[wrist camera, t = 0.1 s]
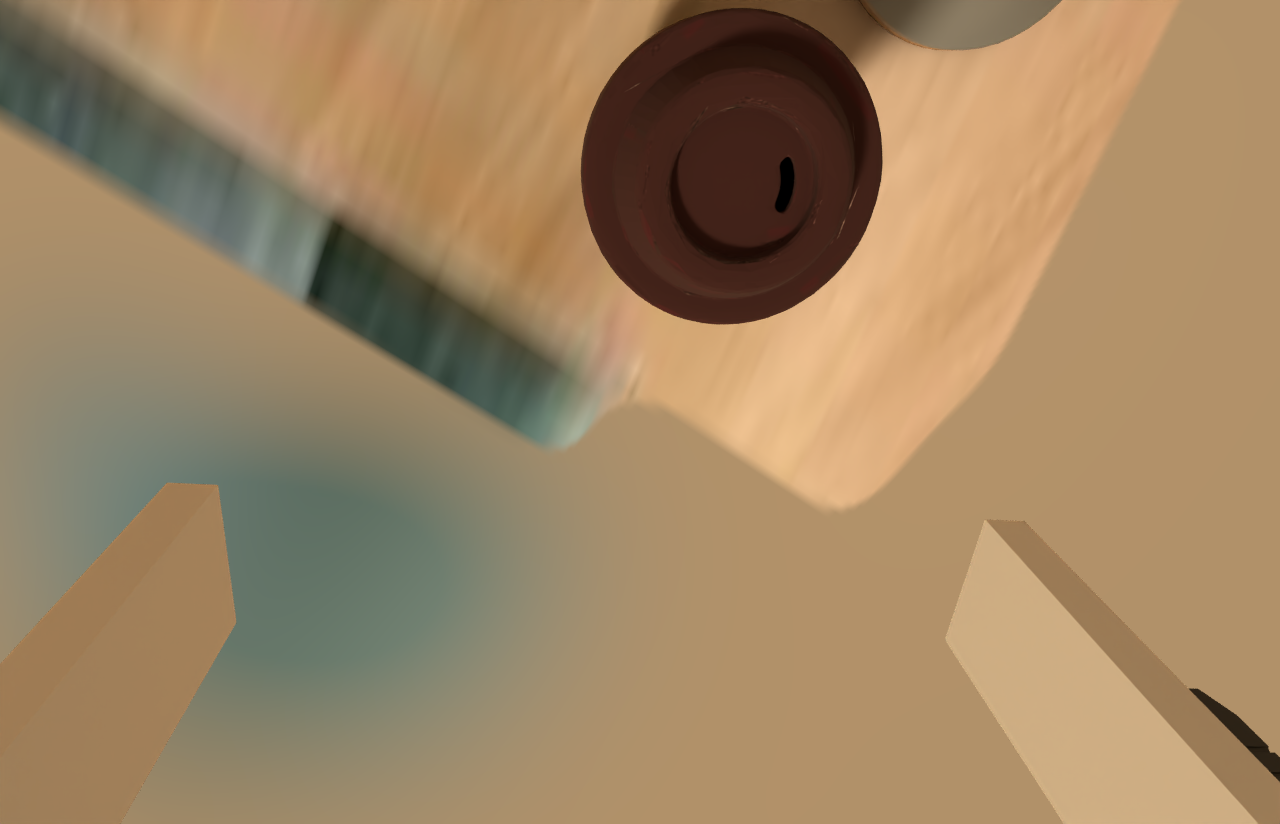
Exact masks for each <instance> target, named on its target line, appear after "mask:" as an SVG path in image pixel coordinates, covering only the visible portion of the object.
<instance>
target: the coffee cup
mask: <svg viewBox="0 0 1280 824" xmlns="http://www.w3.org/2000/svg"><path fill="white" fill-rule="evenodd" d="M881 175H882V142H881V132H880V127H879V122H878V117H877V114H876V110H875V107H874V104H873V101H872V99H871V96H870V93H869V91H868V89H867V87H866V85H865V82H864V81H863V79H862V78H861V76H860V75H859V73H858V71H857V70H856V68H855V67H854V66H853V64H852V63H851V62H850V60H849V59H848V58H847V57H846V55H845V54H844V53H843V52H842V51H841V50H840V49H839V48H838V47H837V46H836V45H835V44H834V43H833V42H832V41H830V40H829V39H828V38H827V37H825V36H824V35H823V34H822V33H820V32H819V31H817V30H815V29H814V28H812V27H811V26H809V25H807V24H805V23H803V22H801V21H799V20H796V19H794V18H792V17H789V16H786V15H783V14H780V13H777V12H772V11H767V10H762V9H749V8H731V9H723V10H716V11H711V12H706V13H703V14H699V15H696V16H693V17H690V18H687V19H684V20H681V21H679V22H677V23H675V24H673V25H671V26H669V27H667V28H665V29H663V30H661V31H659V32H658V33H656V34H655V35H653V36H652V37H651V38H649V39H648V40H646V41H645V42H643V43H642V44H641V45H640V46H639V47H637V48H636V49H635V50H634V51H633V52H632V53H631V54H630V55H629V56H628V57H627V58H626V59H625V60H624V61H623V62H622V63H621V65H620V66H619V67H618V68H617V70H616V71H615V72H614V74H613V75H612V76H611V78H610V79H609V81H608V82H607V84H606V86H605V87H604V89H603V90H602V92H601V94H600V96H599V98H598V100H597V102H596V105H595V107H594V109H593V111H592V114H591V117H590V120H589V122H588V126H587V130H586V134H585V137H584V143H583V150H582V158H581V183H582V193H583V199H584V206H585V210H586V213H587V217H588V220H589V224H590V227H591V231H592V233H593V235H594V237H595V240H596V242H597V244H598V246H599V248H600V250H601V253H602V254H603V256H604V257H605V259H606V260H607V262H608V263H609V265H610V267H611V268H612V269H613V271H614V272H615V273H616V274H617V276H618V277H619V278H620V279H621V280H622V281H623V282H624V283H625V284H626V285H627V286H628V287H629V288H630V289H632V290H633V291H634V292H635V293H636V294H637V295H638V296H640V297H641V298H643V299H644V300H645V301H647V302H648V303H650V304H651V305H653V306H655V307H657V308H659V309H661V310H662V311H664V312H667V313H669V314H672V315H674V316H677V317H680V318H683V319H686V320H691V321H696V322H701V323H708V324H739V323H746V322H752V321H757V320H761V319H765V318H768V317H770V316H773V315H776V314H778V313H781V312H783V311H786V310H788V309H790V308H792V307H794V306H795V305H797V304H798V303H800V302H802V301H803V300H805V299H806V298H808V297H809V296H811V295H812V294H814V293H815V292H816V291H817V290H819V289H820V288H821V287H822V286H823V285H825V284H826V283H827V282H828V281H829V280H830V279H831V278H832V277H833V276H834V275H835V274H836V273H837V272H838V271H839V270H840V269H841V268H842V266H843V265H844V264H845V263H846V261H847V260H848V259H849V258H850V256H851V255H852V253H853V252H854V250H855V249H856V247H857V246H858V244H859V242H860V240H861V238H862V237H863V235H864V233H865V231H866V228H867V226H868V223H869V221H870V218H871V216H872V213H873V210H874V207H875V204H876V201H877V196H878V192H879V187H880V182H881Z"/></svg>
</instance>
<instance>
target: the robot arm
mask: <svg viewBox="0 0 1280 824" xmlns="http://www.w3.org/2000/svg"><path fill="white" fill-rule="evenodd" d="M234 609H235V608H234V601H233V594H232V587H231V579H230V571H229V564H228V557H227V549H226V541H225V534H224V527H223V519H222V512H221V504H220V496H219V489H218V485H206V484H183V483H182V484H181V483H166V485H165V486H164V487H163V488H162V489H161V490H160V491H159V492H158V493H157V494H156V495H155V497H154V498H153V499H152V500H151V501H150V502H149V503H148V504H147V505H146V506H145V508H143V510H142V511H141V512H140V513H139V514H138V515H137V516H136V517H135V518H134V519H133V520H132V521H131V523H130V524H129V525H128V526H127V527H126V528H125V529H124V530H123V531H122V532H121V533H120V534H119V536H118V537H117V538H116V539H115V540H114V541H113V542H112V543H111V544H110V545H109V547H107V549H106V550H105V551H104V552H103V553H102V554H101V555H100V556H99V557H98V558H97V560H96V561H95V562H94V563H93V564H92V565H91V566H90V567H89V568H88V569H87V570H86V571H85V573H84V574H83V575H82V576H81V577H80V578H79V579H78V580H77V581H76V582H75V583H74V584H73V586H72V587H71V588H70V589H69V590H68V591H67V592H66V593H65V594H64V595H63V596H62V597H61V599H60V600H59V601H58V602H57V603H56V604H55V605H54V606H53V607H52V608H51V609H50V611H48V613H47V614H46V615H45V616H44V617H43V618H42V619H41V620H40V621H39V622H38V623H37V625H36V626H35V627H34V628H33V629H32V630H31V631H30V632H29V633H28V634H27V635H26V636H25V638H24V639H23V640H22V641H21V642H20V643H19V644H18V645H17V646H16V647H15V648H14V649H13V651H12V652H11V653H10V654H9V655H8V656H7V657H6V658H5V659H4V660H3V662H2V663H1V664H0V824H121V822H122V820H123V818H124V817H125V815H126V813H127V811H128V810H129V808H130V806H131V804H132V803H133V801H134V799H135V798H136V796H137V794H138V792H139V790H140V789H141V787H142V785H143V784H144V782H145V780H146V778H147V777H148V775H149V773H150V771H151V770H152V768H153V766H154V764H155V763H156V761H157V759H158V757H159V756H160V754H161V752H162V751H163V749H164V747H165V745H166V743H167V742H168V740H169V738H170V736H171V735H172V733H173V731H174V730H175V728H176V726H177V724H178V723H179V721H180V719H181V718H182V716H183V714H184V712H185V711H186V709H187V707H188V705H189V703H190V702H191V700H192V698H193V697H194V695H195V693H196V691H197V690H198V688H199V686H200V684H201V683H202V681H203V679H204V677H205V676H206V674H207V672H208V671H209V669H210V667H211V665H212V664H213V662H214V660H215V658H216V657H217V655H218V653H219V651H220V650H221V648H222V646H223V645H224V643H225V641H226V639H227V637H228V636H229V634H230V632H231V630H232V629H233V627H234V625H235V623H236V616H235V610H234ZM945 640H946V642H947V643H948V645H949V647H950V648H951V650H952V651H953V653H954V654H955V656H956V657H957V659H958V661H959V662H960V664H961V665H962V666H963V668H964V670H965V671H966V673H967V674H968V676H969V678H970V679H971V681H972V682H973V684H974V685H975V686H976V688H977V690H978V691H979V693H980V695H981V696H982V698H983V699H984V701H985V702H986V704H987V705H988V707H989V708H990V710H991V712H992V713H993V715H994V716H995V718H996V719H997V721H998V722H999V724H1000V725H1001V727H1002V729H1003V730H1004V732H1005V733H1006V735H1007V736H1008V738H1009V739H1010V741H1011V742H1012V744H1013V746H1014V747H1015V749H1016V750H1017V752H1018V753H1019V755H1020V756H1021V758H1022V759H1023V761H1024V763H1025V764H1026V766H1027V767H1028V769H1029V770H1030V772H1031V773H1032V775H1033V777H1034V778H1035V779H1036V781H1037V783H1038V784H1039V786H1040V787H1041V789H1042V790H1043V792H1044V793H1045V795H1046V797H1047V798H1048V800H1049V801H1050V803H1051V804H1052V806H1053V807H1054V809H1055V811H1056V812H1057V814H1058V815H1059V817H1060V818H1061V820H1062V821H1063V823H1064V824H1280V757H1279V756H1278V755H1277V754H1276V753H1270V751H1269V749H1268V745H1267V744H1266V743H1264V742H1263V740H1262V739H1261V738H1259V737H1258V736H1257V735H1256V734H1255V733H1254V732H1253V731H1252V730H1251V729H1250V728H1249V727H1248V726H1247V725H1246V724H1245V723H1244V722H1243V721H1242V720H1241V719H1240V718H1239V717H1238V716H1237V715H1236V714H1234V713H1233V712H1231V711H1230V710H1228V709H1227V708H1225V707H1224V706H1222V705H1221V704H1220V703H1218V702H1217V701H1215V700H1214V699H1212V698H1211V697H1209V696H1208V695H1206V694H1205V693H1203V692H1201V691H1200V690H1199V689H1188V688H1187V687H1186V686H1185V685H1184V684H1183V683H1182V682H1181V681H1180V680H1179V679H1178V678H1177V676H1176V675H1175V674H1174V673H1173V672H1172V671H1171V670H1170V669H1169V668H1168V667H1167V666H1166V665H1165V664H1164V663H1163V662H1162V661H1161V660H1160V659H1159V658H1158V657H1157V656H1156V655H1155V654H1154V653H1153V652H1152V651H1151V650H1150V649H1149V648H1148V647H1147V646H1146V645H1145V644H1144V643H1143V642H1142V641H1141V640H1140V639H1139V638H1138V637H1137V636H1136V635H1135V634H1134V633H1133V632H1132V631H1131V630H1130V628H1128V626H1127V625H1126V624H1124V622H1123V621H1122V620H1121V619H1120V618H1119V617H1118V616H1117V615H1116V614H1115V613H1114V612H1113V611H1112V610H1111V609H1110V608H1109V607H1108V606H1107V605H1106V604H1105V603H1104V602H1103V601H1102V600H1101V599H1100V598H1099V597H1098V596H1097V595H1096V594H1095V593H1094V592H1093V591H1092V590H1091V589H1090V588H1089V587H1088V586H1087V585H1086V583H1085V582H1083V580H1082V579H1081V578H1080V577H1079V576H1078V575H1077V574H1076V573H1075V572H1074V571H1073V570H1072V569H1071V568H1070V567H1069V566H1068V565H1067V564H1066V563H1065V562H1064V561H1063V560H1062V559H1061V558H1060V557H1059V556H1058V555H1057V554H1056V553H1055V552H1054V551H1053V550H1052V549H1051V548H1050V547H1049V546H1048V545H1047V544H1046V543H1045V542H1044V541H1043V540H1042V539H1041V538H1040V537H1039V536H1038V535H1037V533H1035V531H1034V530H1033V529H1031V527H1030V526H1029V525H1028V524H1027V523H1026V522H1025V521H1007V520H1006V521H1004V520H985V522H984V525H983V528H982V531H981V534H980V537H979V540H978V543H977V546H976V549H975V552H974V555H973V558H972V561H971V564H970V567H969V570H968V573H967V575H966V579H965V582H964V584H963V588H962V590H961V594H960V596H959V599H958V602H957V605H956V608H955V611H954V615H953V617H952V620H951V623H950V626H949V629H948V632H947V635H946V638H945Z"/></svg>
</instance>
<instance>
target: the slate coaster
mask: <svg viewBox="0 0 1280 824" xmlns="http://www.w3.org/2000/svg"><path fill="white" fill-rule="evenodd" d="M859 1H860V2H861V3H862V5H863V6H864V8H865V9H866V10H867V12H868V13H869V14H870V15H871V16H872V17H873V18H874V19H875V20H876V21H877V22H878V23H879V24H880V25H881V26H882V27H883V28H885V29H886V30H887V31H889V32H890V33H891V34H893V35H894V36H896V37H898V38H900V39H902V40H904V41H905V42H908V43H911V44H913V45H916V46H919V47H923V48H928V49H934V50H969V49H977V48H983V47H987V46H990V45H994V44H998V43H1000V42H1003V41H1005V40H1007V39H1010V38H1012V37H1014V36H1016V35H1018V34H1020V33H1021V32H1023V31H1025V30H1026V29H1028V28H1030V27H1031V26H1033V25H1034V24H1035V23H1037V22H1038V21H1039V20H1041V19H1042V18H1043V17H1045V16H1046V15H1047V14H1048V13H1049V12H1050V11H1051V10H1052V9H1053V8H1054V7H1056V6H1057V5H1058V4H1059V3H1060V2H1061V0H859Z"/></svg>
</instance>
